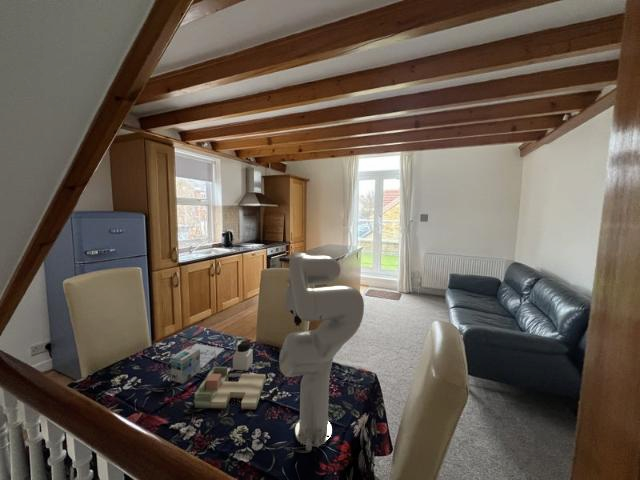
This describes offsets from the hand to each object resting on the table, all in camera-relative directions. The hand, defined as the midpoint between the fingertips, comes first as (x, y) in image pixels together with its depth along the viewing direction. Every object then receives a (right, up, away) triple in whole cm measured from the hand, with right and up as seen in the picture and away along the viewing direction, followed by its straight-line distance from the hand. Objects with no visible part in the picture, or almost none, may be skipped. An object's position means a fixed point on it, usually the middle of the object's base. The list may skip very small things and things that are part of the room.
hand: (297, 324), depth 112 cm
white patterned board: (-53, -24, +24) cm, 63 cm away
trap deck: (-26, -27, -4) cm, 38 cm away
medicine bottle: (-28, -25, +15) cm, 41 cm away
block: (-34, -24, -4) cm, 42 cm away
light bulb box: (-51, -25, +7) cm, 57 cm away
